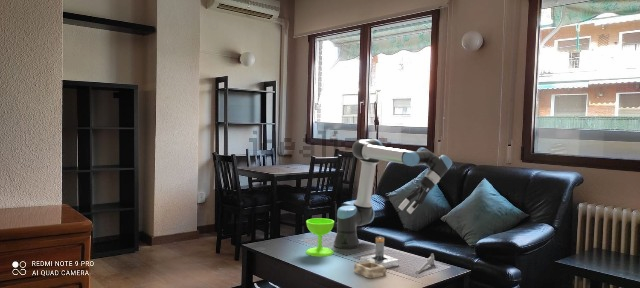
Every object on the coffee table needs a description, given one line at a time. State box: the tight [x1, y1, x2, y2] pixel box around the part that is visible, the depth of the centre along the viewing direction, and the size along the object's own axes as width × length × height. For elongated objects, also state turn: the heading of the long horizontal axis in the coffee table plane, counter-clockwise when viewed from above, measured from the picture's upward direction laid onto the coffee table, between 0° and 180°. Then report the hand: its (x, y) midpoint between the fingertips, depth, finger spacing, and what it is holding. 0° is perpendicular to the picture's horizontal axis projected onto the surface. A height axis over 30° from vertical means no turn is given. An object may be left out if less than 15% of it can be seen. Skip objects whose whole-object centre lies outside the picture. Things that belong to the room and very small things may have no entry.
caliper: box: [415, 253, 435, 275], centre depth 231 cm, size 20×1×6 cm, turn 143°
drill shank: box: [374, 236, 385, 261], centre depth 237 cm, size 5×5×14 cm
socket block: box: [360, 254, 400, 269], centre depth 238 cm, size 14×14×3 cm
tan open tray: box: [353, 261, 387, 279], centre depth 222 cm, size 12×10×4 cm
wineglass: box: [305, 217, 335, 258], centre depth 257 cm, size 16×16×18 cm
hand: (404, 210), depth 239 cm, fingers open, 13 cm apart
